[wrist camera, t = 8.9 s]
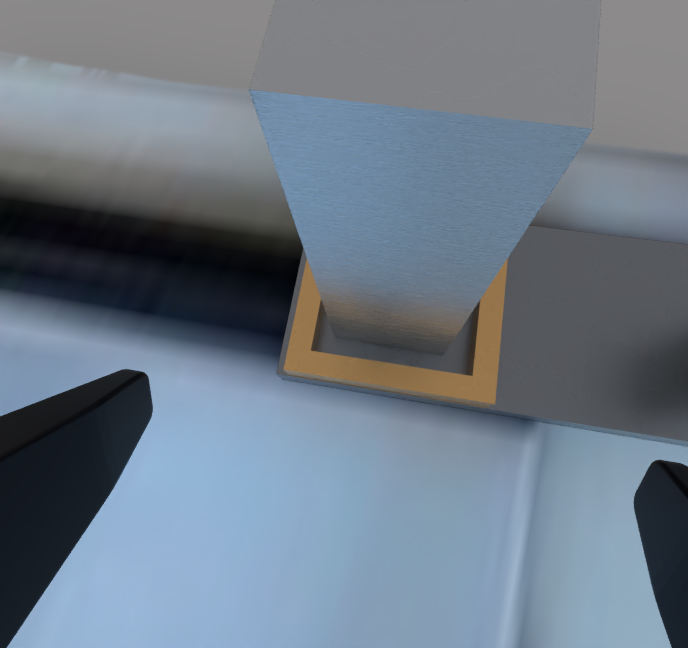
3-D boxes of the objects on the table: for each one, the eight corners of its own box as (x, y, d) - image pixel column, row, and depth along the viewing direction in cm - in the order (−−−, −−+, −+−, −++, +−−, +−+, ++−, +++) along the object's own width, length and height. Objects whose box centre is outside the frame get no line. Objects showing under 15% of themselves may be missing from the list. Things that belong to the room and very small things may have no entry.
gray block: (445, 356, 17) (602, 129, 5) (333, 336, 17) (248, 89, 6) (460, 254, 18) (617, -124, 6) (354, 238, 18) (317, -139, 7)
